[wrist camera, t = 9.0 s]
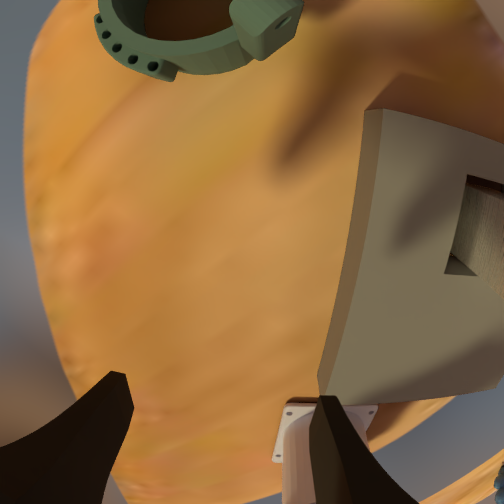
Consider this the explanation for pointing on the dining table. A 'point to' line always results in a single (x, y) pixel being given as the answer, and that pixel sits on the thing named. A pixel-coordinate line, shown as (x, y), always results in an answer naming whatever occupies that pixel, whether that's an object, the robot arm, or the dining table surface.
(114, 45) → the bracket
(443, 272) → the well board
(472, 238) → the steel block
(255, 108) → the dining table surface
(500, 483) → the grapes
